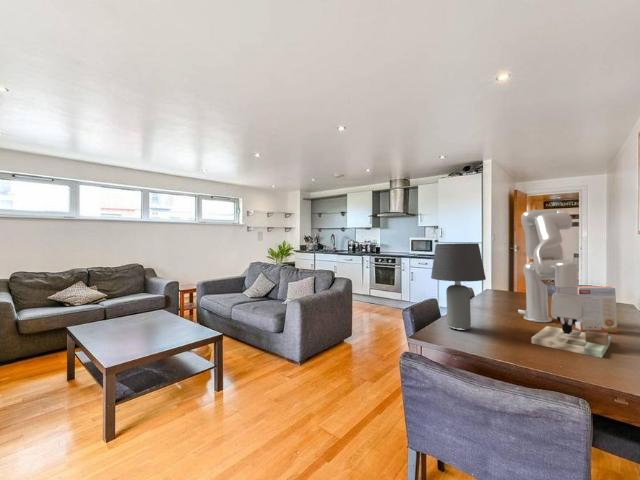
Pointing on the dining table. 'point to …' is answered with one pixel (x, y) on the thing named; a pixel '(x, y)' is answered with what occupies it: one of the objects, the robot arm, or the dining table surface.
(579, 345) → the plate
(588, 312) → the cracker box
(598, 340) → the brown block
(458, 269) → the lamp
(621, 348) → the dining table surface
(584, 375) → the dining table surface
